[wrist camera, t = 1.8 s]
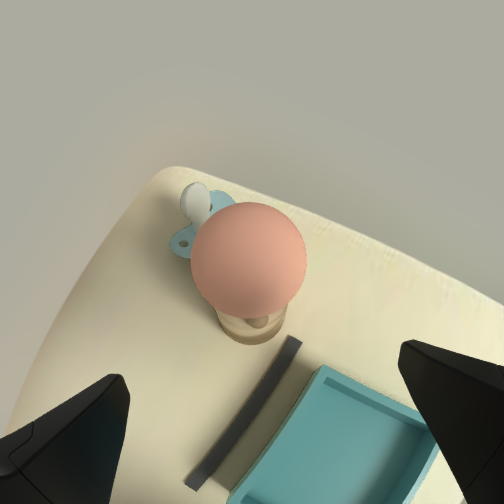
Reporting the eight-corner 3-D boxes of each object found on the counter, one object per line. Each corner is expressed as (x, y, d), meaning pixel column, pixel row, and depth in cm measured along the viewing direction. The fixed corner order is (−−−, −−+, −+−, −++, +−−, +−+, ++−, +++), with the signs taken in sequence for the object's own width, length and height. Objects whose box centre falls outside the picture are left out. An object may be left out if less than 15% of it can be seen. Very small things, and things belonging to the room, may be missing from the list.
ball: (265, 351, 15) (269, 317, 10) (181, 297, 17) (151, 243, 12) (315, 271, 18) (337, 210, 13) (237, 229, 20) (231, 163, 15)
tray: (356, 542, 11) (369, 556, 9) (230, 492, 15) (225, 503, 12) (429, 426, 16) (449, 425, 14) (314, 370, 20) (323, 364, 17)
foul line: (196, 491, 15) (196, 491, 15) (185, 483, 15) (184, 484, 15) (302, 343, 21) (302, 342, 21) (290, 336, 21) (291, 335, 21)
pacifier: (262, 221, 27) (206, 201, 28) (264, 172, 22) (198, 153, 23) (226, 287, 24) (166, 260, 25) (219, 246, 18) (146, 216, 20)
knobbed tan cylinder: (261, 357, 20) (263, 336, 15) (206, 322, 22) (190, 290, 17) (295, 304, 22) (307, 267, 17) (242, 273, 24) (238, 231, 19)
